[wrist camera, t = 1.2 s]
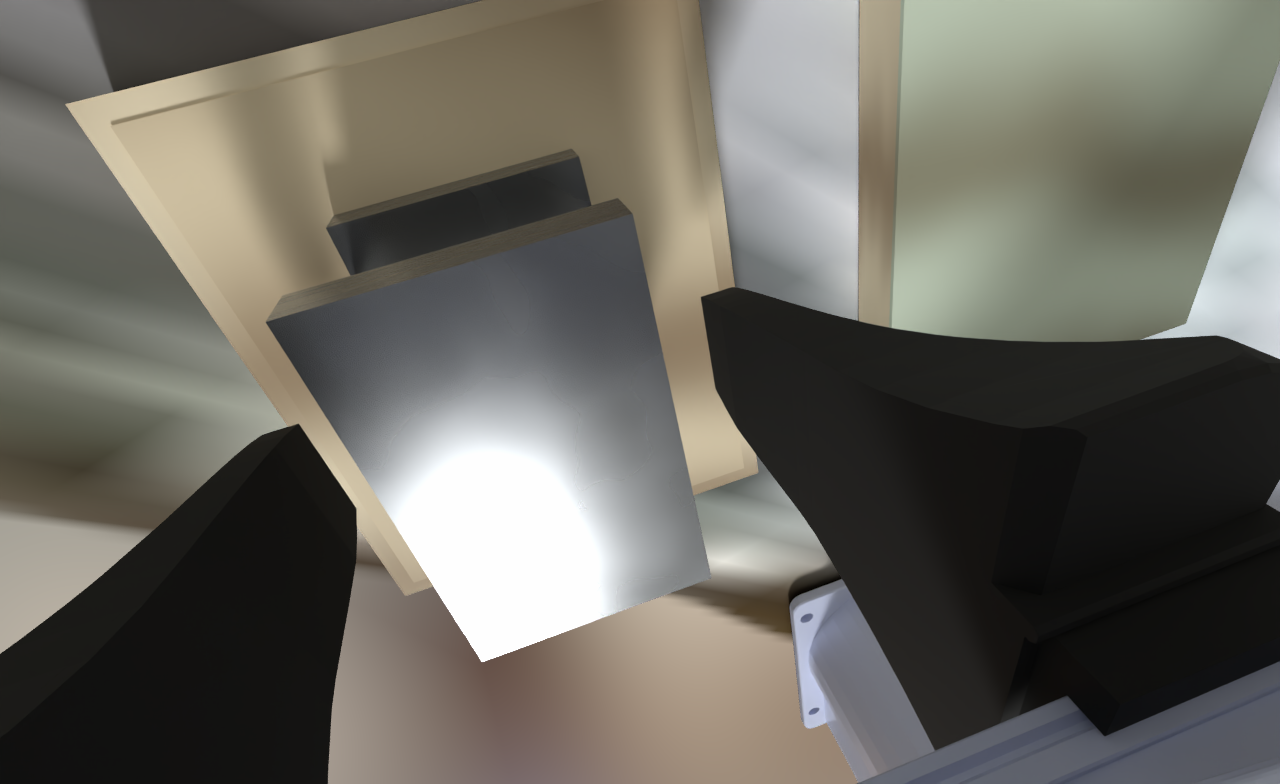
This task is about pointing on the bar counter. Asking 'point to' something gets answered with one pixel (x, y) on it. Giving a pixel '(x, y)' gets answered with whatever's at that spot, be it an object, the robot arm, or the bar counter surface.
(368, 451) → the block
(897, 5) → the stand
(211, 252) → the stand
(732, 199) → the bar counter surface
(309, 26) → the bar counter surface
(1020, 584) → the robot arm
